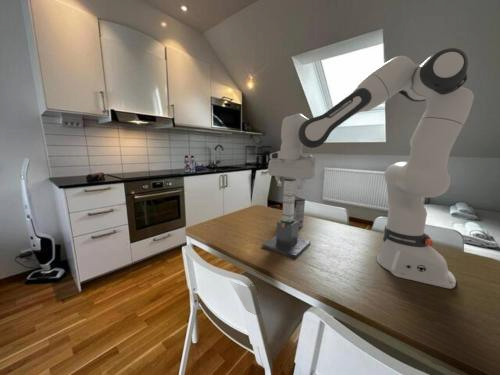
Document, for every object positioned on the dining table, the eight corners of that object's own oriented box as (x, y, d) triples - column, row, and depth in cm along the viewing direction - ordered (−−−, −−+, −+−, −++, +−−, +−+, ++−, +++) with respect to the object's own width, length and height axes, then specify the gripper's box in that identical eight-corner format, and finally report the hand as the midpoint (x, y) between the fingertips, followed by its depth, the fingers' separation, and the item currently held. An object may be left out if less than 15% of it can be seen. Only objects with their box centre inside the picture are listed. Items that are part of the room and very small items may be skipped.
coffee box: (285, 222, 122) (286, 196, 119) (293, 221, 125) (295, 195, 122) (294, 228, 114) (295, 200, 111) (303, 226, 116) (305, 199, 114)
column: (293, 229, 92) (296, 178, 87) (289, 231, 88) (292, 179, 84) (285, 226, 94) (287, 177, 90) (281, 229, 91) (283, 178, 87)
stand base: (310, 244, 94) (312, 220, 92) (295, 258, 82) (297, 230, 79) (279, 235, 104) (280, 213, 102) (262, 247, 91) (262, 221, 89)
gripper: (318, 155, 82) (315, 189, 84) (273, 154, 94) (273, 184, 96) (312, 155, 77) (310, 191, 79) (266, 154, 89) (265, 185, 91)
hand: (289, 187), depth 88 cm, fingers open, 8 cm apart
